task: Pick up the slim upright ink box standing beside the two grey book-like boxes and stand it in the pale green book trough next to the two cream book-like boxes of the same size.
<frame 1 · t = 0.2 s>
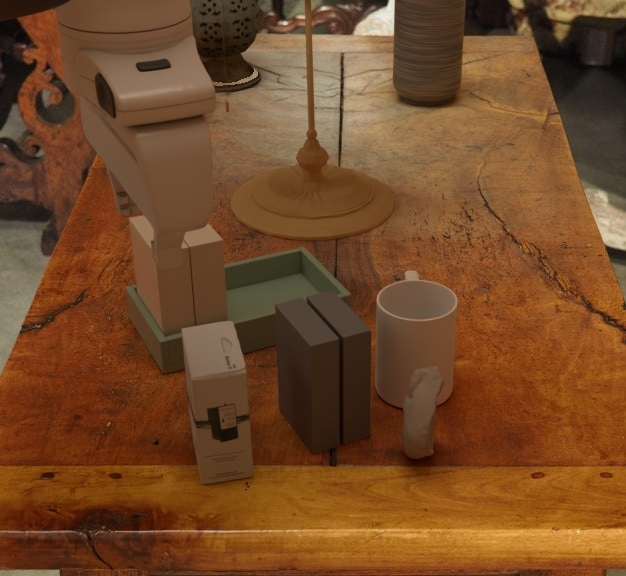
hand: (148, 237, 80), 26 cm above the table, tool pointing down, fingers open, 8 cm apart
ink box: (221, 455, 99), on the table
mug: (412, 377, 111), on the table
lantern: (222, 79, 190), on the table
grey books: (323, 422, 104), on the table
cream books: (239, 313, 119), resting on book trough
book trough: (239, 321, 119), on the table
fossil: (418, 460, 99), on the table
vase: (426, 98, 183), on the table
desk lamp: (313, 205, 146), on the table
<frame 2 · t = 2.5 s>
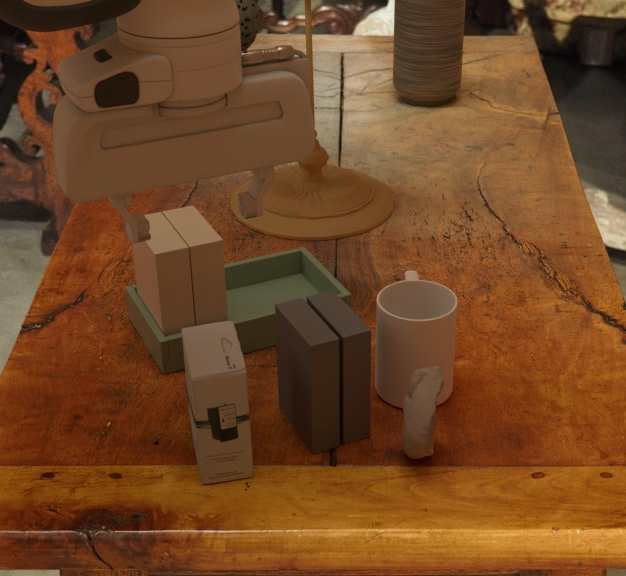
hand: (196, 227, 86), 24 cm above the table, tool pointing down, fingers open, 8 cm apart
nothing on the table moved.
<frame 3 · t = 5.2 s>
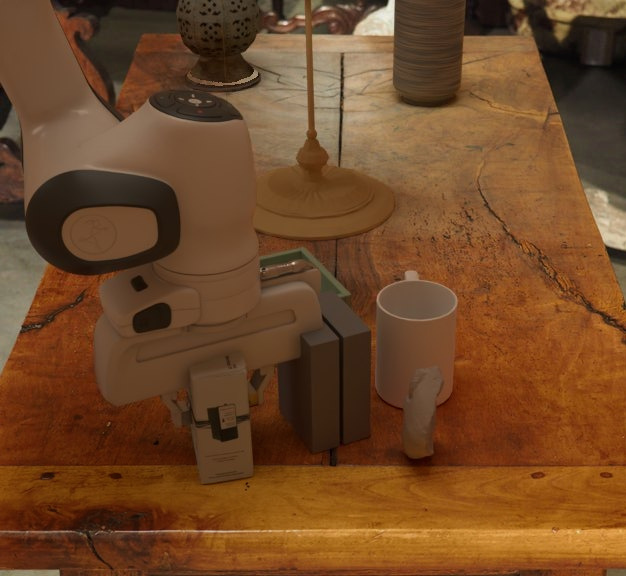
hand: (217, 413, 97), 5 cm above the table, tool pointing down, fingers closed on ink box, 5 cm apart
ink box: (221, 454, 99), on the table, touching gripper
everything else where it was.
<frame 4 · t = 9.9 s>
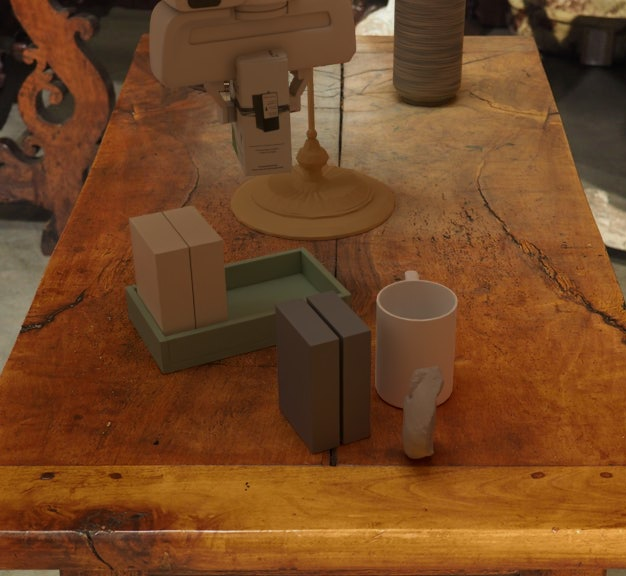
hand: (259, 116, 106), 25 cm above the table, tool pointing down, fingers closed on ink box, 5 cm apart
ink box: (261, 161, 109), point 20 cm above the table, touching gripper
everything else where it was.
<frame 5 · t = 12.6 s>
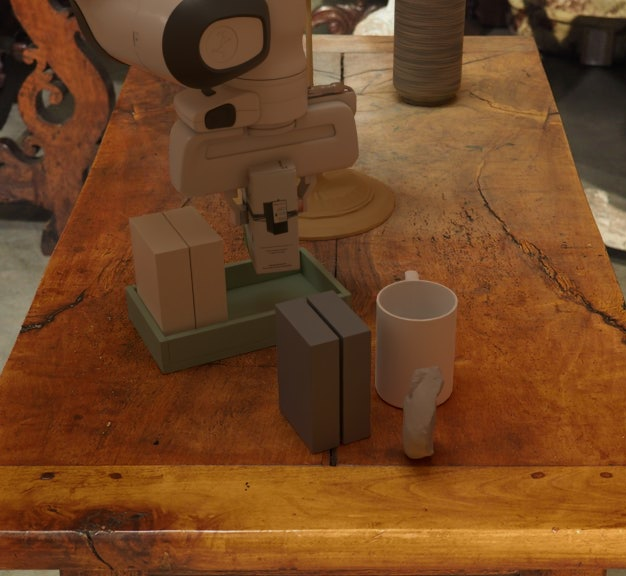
hand: (268, 217, 115), 12 cm above the table, tool pointing down, fingers closed on ink box, 5 cm apart
ink box: (270, 256, 117), point 7 cm above the table, touching gripper
everything else where it was.
when the fingers open (5 cm above the table, at t = 14.7 s): ink box stays where it is, resting on book trough.
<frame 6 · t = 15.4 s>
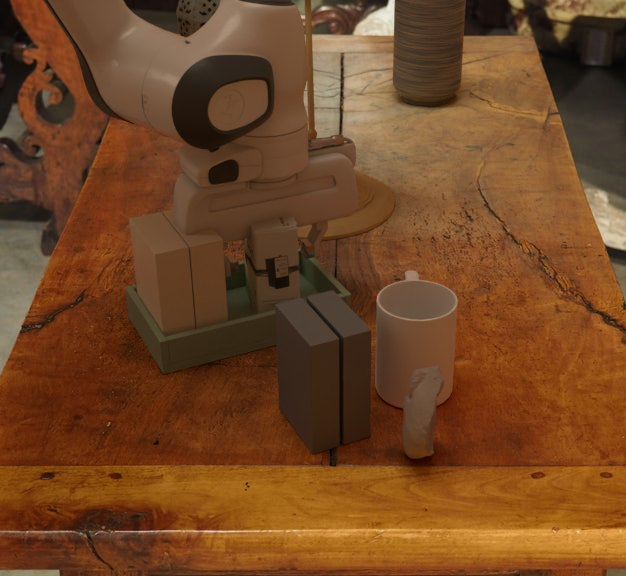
hand: (270, 264, 118), 6 cm above the table, tool pointing down, fingers open, 8 cm apart
ink box: (272, 307, 121), point 1 cm above the table, touching book trough
everything else where it was.
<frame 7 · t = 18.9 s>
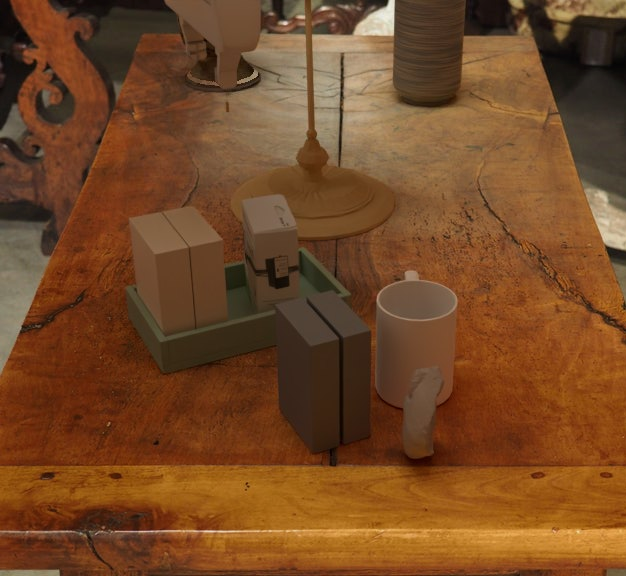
hand: (211, 71, 109), 28 cm above the table, tool pointing down, fingers open, 8 cm apart
nothing on the table moved.
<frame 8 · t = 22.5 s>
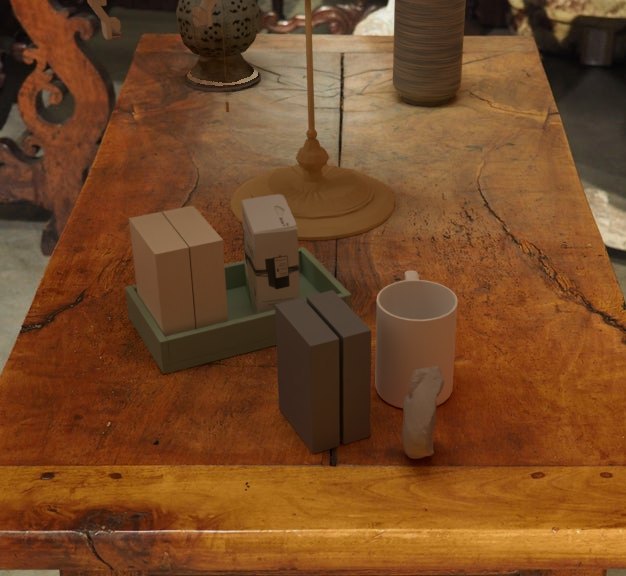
hand: (158, 31, 108), 31 cm above the table, tool pointing down, fingers open, 8 cm apart
nothing on the table moved.
at the end: ink box inside the target area in the book trough (0.3 cm from its centre), point 0.8 cm above the book trough's base; ink box tilted 0°; the gripper is holding nothing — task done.
